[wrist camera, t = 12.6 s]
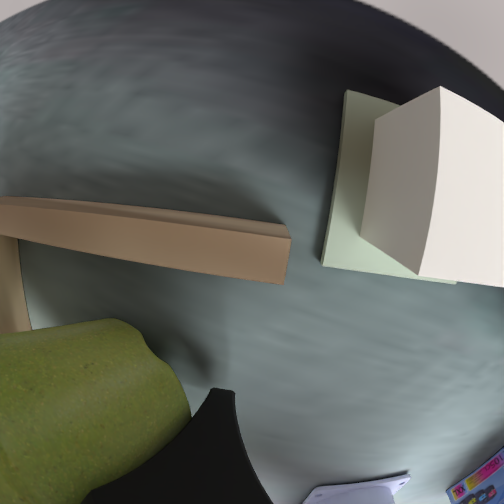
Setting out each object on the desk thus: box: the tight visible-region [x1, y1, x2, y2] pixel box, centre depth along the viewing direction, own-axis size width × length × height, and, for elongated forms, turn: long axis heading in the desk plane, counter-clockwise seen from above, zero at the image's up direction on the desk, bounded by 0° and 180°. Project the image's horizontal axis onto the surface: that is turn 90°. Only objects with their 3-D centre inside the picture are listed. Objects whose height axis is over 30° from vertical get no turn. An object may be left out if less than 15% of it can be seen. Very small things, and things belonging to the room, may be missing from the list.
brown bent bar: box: [0, 90, 457, 334], centre depth 9 cm, size 19×21×2 cm
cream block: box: [359, 86, 504, 287], centre depth 6 cm, size 4×4×4 cm
